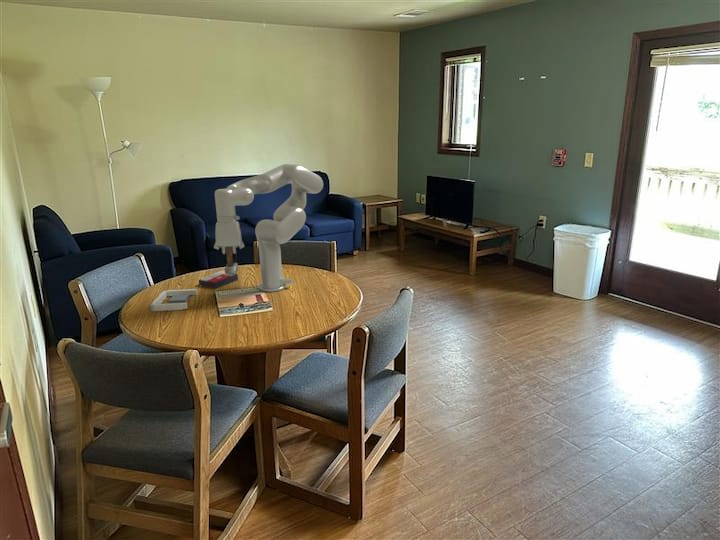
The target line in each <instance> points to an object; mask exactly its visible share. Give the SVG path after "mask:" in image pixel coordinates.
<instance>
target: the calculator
mask: <svg viewBox="0 0 720 540" xmlns="http://www.w3.org/2000/svg"><path fill="white" fill-rule="evenodd" d="M238 276H239V275H238V273H237V272H236V274H235V275H225V270H219V271H216V272H213V273H211V274H209V275H207V276H203V277H202V278H199V279H198V286H200V285H201V286H200V287H204V288H209V289H213V290H214V289H215V290H216V289H219V288H222V287H225V286H226V285H229V284H231V283H234V281H235V282H237V281H239V277H238ZM221 286H222V287H221Z"/></svg>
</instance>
